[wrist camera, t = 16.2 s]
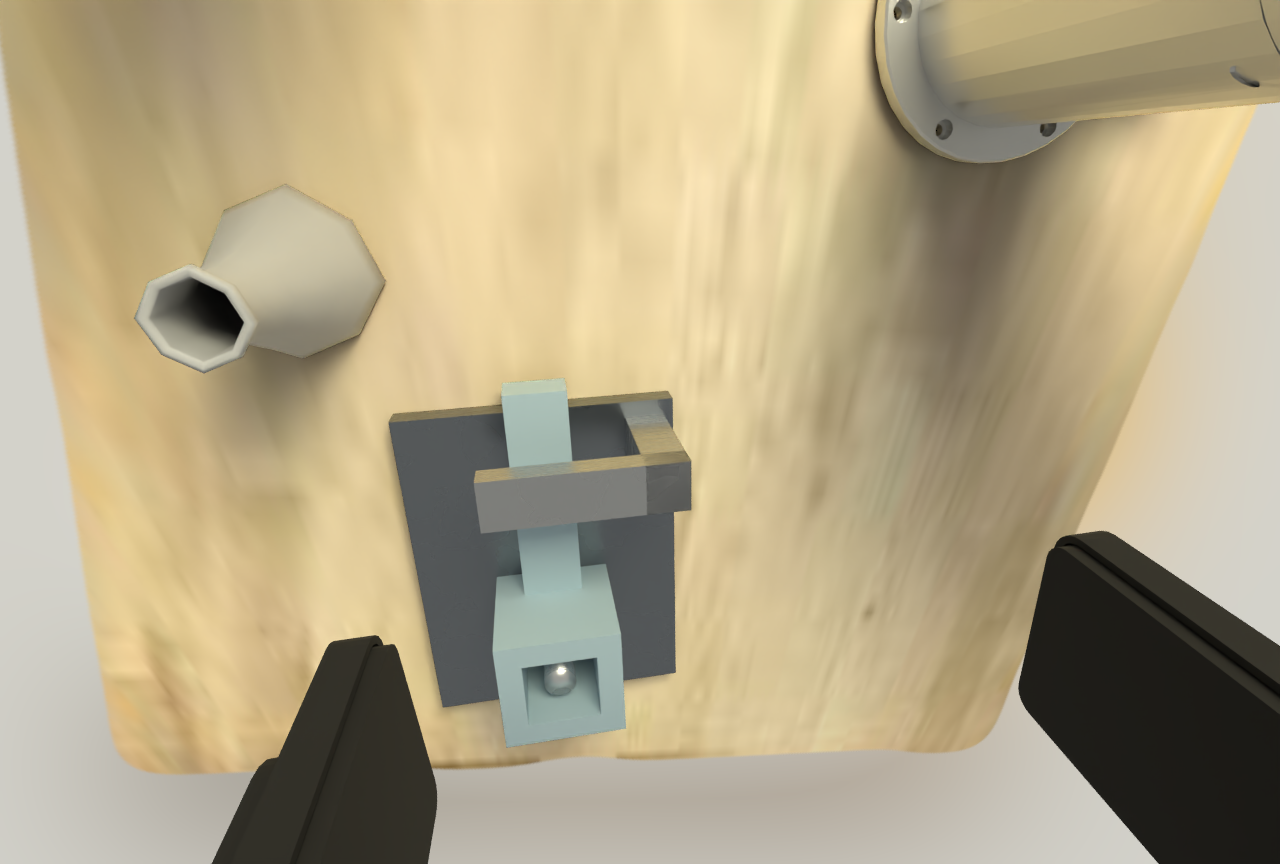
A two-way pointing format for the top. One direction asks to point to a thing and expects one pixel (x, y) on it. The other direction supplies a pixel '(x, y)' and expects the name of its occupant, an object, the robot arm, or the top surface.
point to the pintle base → (498, 553)
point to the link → (552, 598)
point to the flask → (265, 285)
